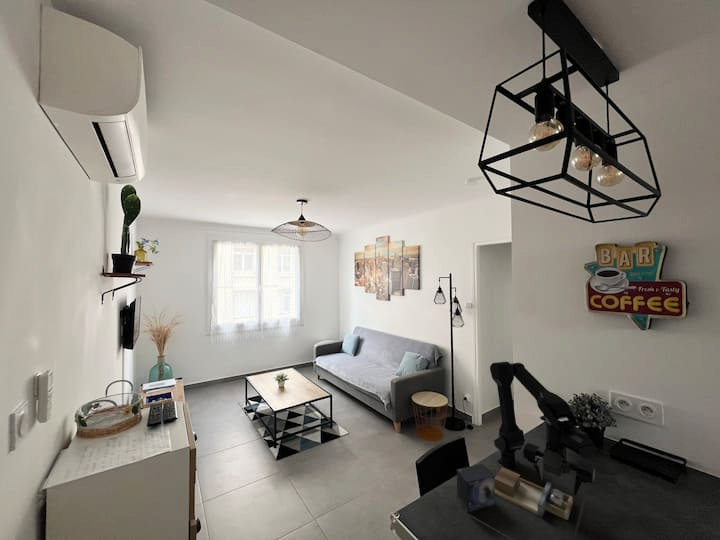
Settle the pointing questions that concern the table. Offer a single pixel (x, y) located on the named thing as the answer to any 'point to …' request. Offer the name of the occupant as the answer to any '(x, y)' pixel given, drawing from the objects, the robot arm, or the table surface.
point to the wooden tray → (537, 499)
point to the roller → (556, 498)
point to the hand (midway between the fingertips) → (557, 487)
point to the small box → (475, 487)
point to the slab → (507, 482)
